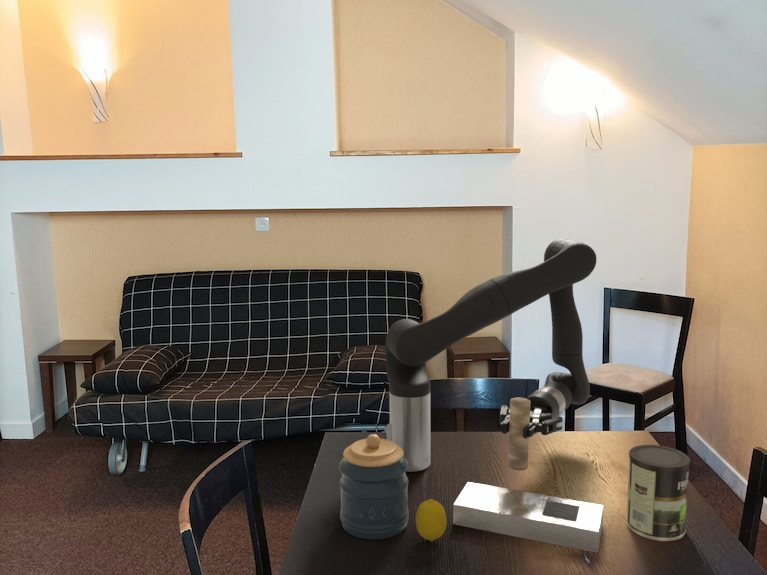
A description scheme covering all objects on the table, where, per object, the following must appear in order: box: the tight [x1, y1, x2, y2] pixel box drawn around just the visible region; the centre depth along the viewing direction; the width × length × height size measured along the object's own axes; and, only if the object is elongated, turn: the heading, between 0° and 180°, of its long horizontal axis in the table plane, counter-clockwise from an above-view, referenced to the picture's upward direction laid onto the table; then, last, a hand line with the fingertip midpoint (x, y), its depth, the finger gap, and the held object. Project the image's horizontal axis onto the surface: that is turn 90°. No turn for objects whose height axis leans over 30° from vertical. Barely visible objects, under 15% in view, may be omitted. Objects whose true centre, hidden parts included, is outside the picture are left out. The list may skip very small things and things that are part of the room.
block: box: [452, 481, 605, 554], centre depth 122 cm, size 26×10×4 cm, turn 67°
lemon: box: [415, 498, 448, 542], centre depth 117 cm, size 6×6×8 cm
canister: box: [338, 433, 410, 541], centre depth 123 cm, size 13×13×18 cm
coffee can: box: [625, 444, 691, 542], centre depth 120 cm, size 10×10×14 cm
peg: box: [507, 397, 530, 471], centre depth 133 cm, size 4×4×14 cm
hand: (514, 431), depth 130 cm, fingers closed on peg, 4 cm apart
